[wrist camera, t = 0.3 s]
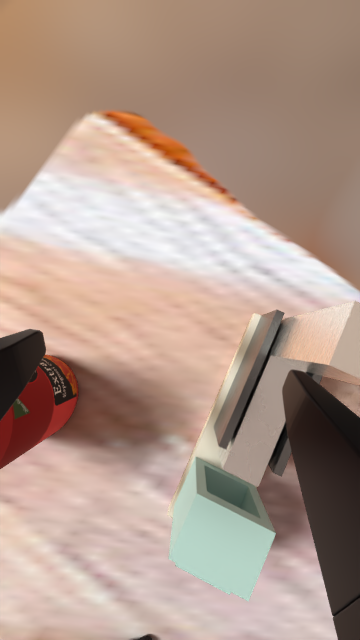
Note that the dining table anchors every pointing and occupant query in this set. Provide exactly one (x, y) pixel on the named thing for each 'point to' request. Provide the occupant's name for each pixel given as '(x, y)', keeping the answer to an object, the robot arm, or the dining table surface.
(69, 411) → the canned food
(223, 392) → the base board
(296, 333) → the light grey l-shaped piece
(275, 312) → the sleeve
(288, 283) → the dining table surface
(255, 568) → the socket
